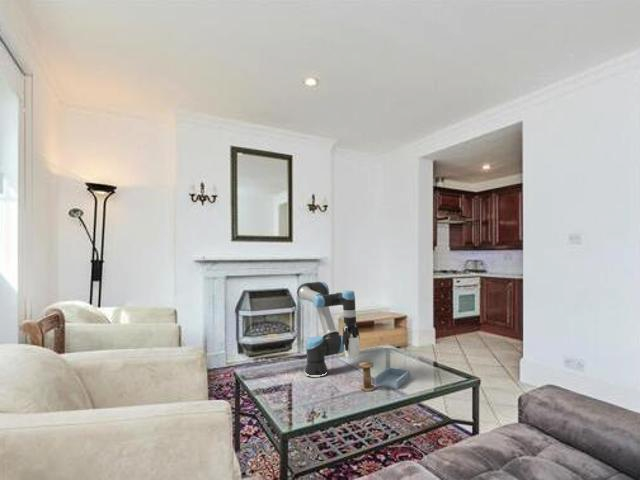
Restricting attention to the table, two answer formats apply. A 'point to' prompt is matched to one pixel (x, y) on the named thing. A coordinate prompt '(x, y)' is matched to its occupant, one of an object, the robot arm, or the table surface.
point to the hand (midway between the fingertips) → (352, 353)
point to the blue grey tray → (392, 377)
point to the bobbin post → (367, 376)
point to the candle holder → (353, 347)
